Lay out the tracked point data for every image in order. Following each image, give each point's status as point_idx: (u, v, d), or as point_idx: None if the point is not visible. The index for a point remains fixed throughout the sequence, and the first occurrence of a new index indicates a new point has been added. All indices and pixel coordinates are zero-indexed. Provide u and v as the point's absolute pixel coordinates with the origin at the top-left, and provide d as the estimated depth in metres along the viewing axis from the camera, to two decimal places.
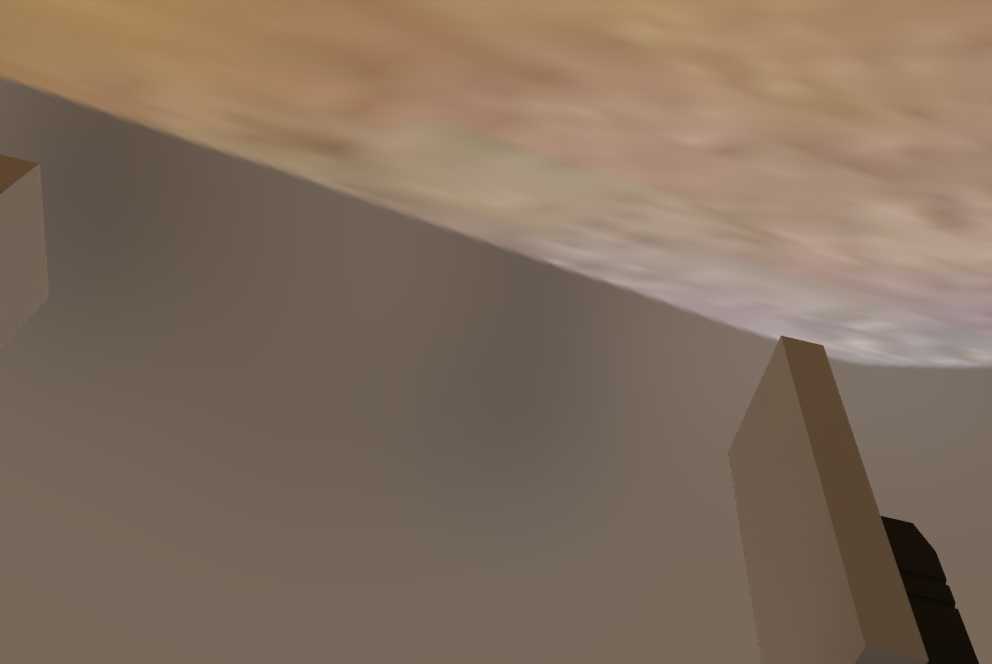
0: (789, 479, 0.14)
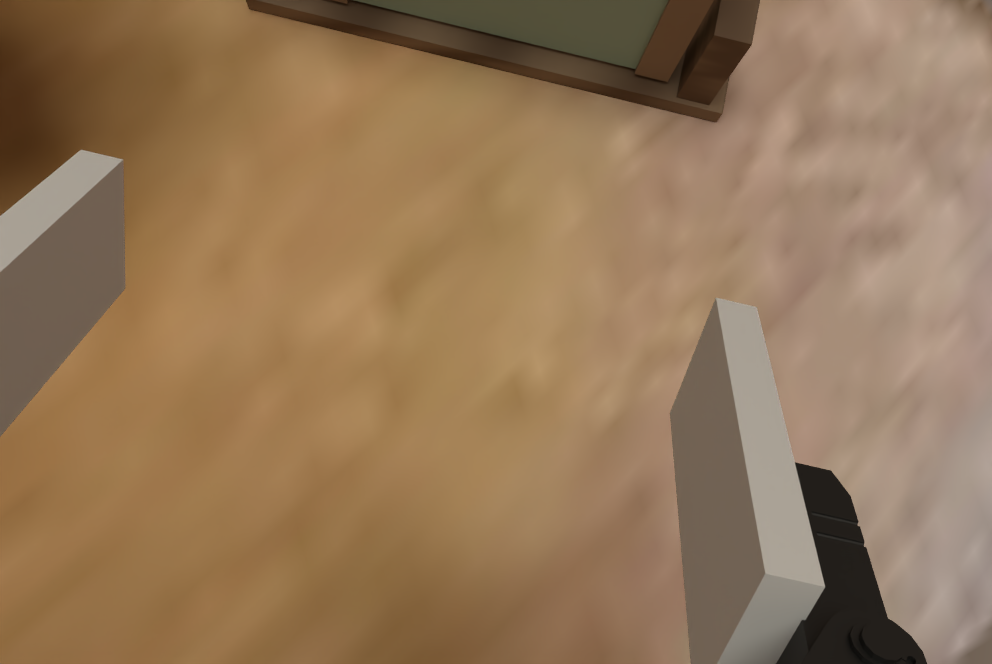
0: (715, 430, 0.15)
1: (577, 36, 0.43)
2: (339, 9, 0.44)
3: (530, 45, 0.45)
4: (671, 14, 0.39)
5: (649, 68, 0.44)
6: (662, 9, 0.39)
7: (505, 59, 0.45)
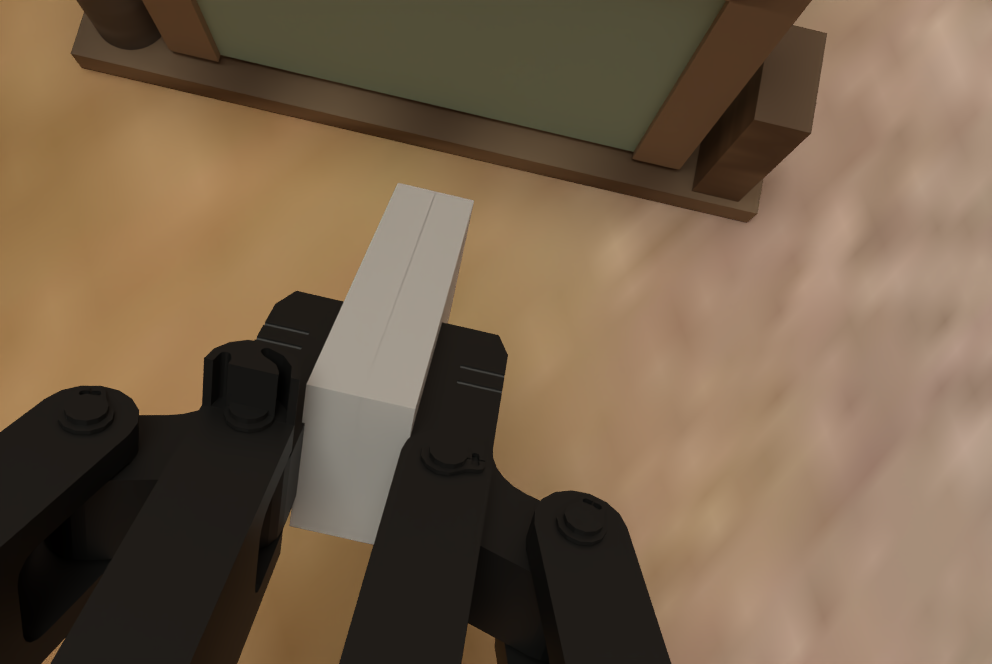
0: None
1: (549, 110, 0.30)
2: (207, 69, 0.31)
3: (483, 118, 0.31)
4: (689, 88, 0.26)
5: (653, 153, 0.31)
6: (675, 79, 0.26)
7: (447, 139, 0.31)
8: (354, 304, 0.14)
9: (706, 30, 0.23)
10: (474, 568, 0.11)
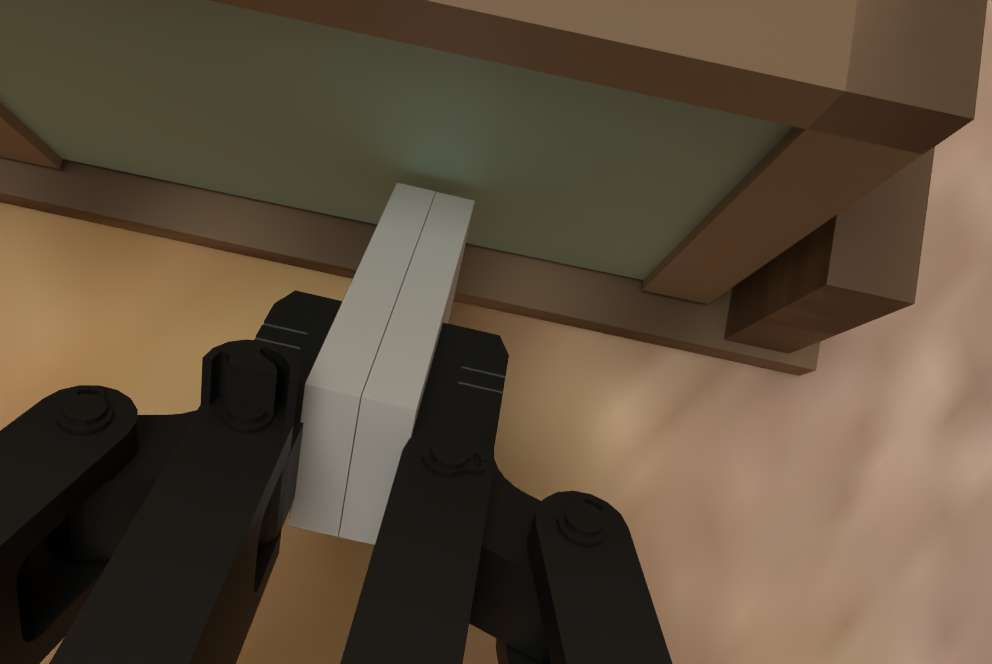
0: None
1: (522, 234, 0.21)
2: (45, 179, 0.22)
3: None
4: (728, 227, 0.17)
5: (671, 287, 0.22)
6: (706, 212, 0.17)
7: None
8: (353, 304, 0.14)
9: (759, 158, 0.14)
10: (475, 568, 0.11)
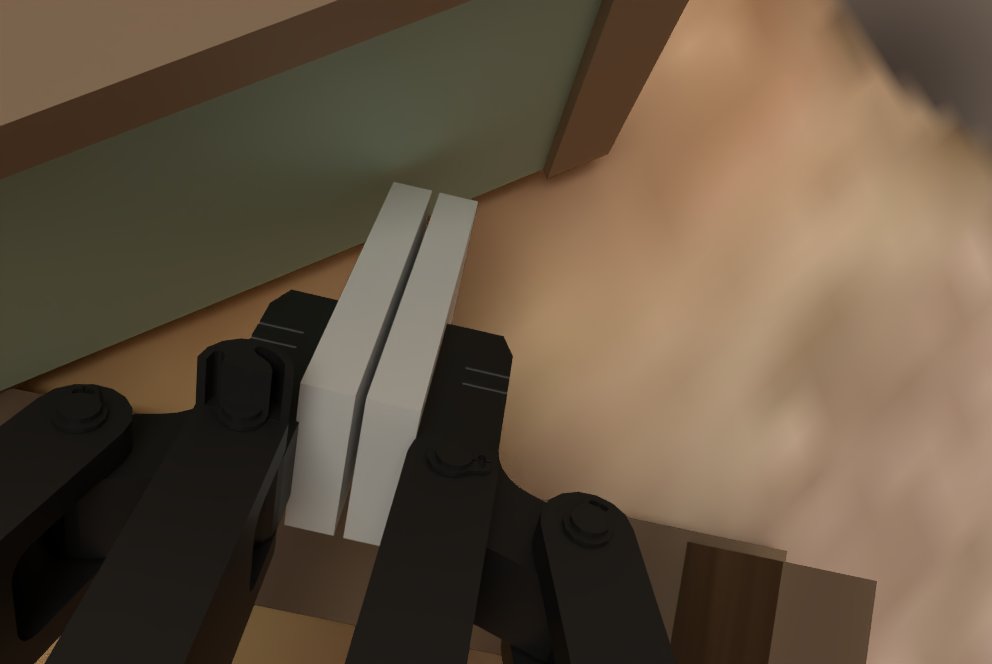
0: None
1: None
2: None
3: (352, 573, 0.21)
4: (601, 71, 0.17)
5: (571, 159, 0.22)
6: (574, 71, 0.17)
7: (296, 611, 0.21)
8: (349, 303, 0.14)
9: None
10: (480, 569, 0.11)
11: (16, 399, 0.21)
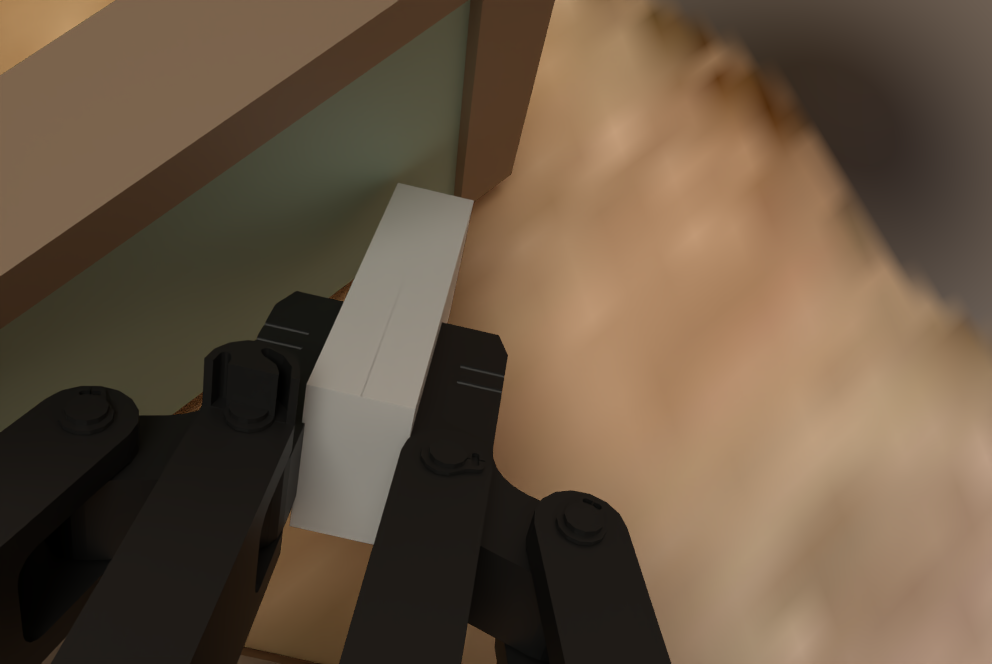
0: None
1: (344, 264, 0.21)
2: None
3: None
4: (483, 108, 0.17)
5: (477, 189, 0.22)
6: (458, 114, 0.17)
7: None
8: (354, 304, 0.14)
9: (465, 41, 0.15)
10: (474, 568, 0.11)
11: None
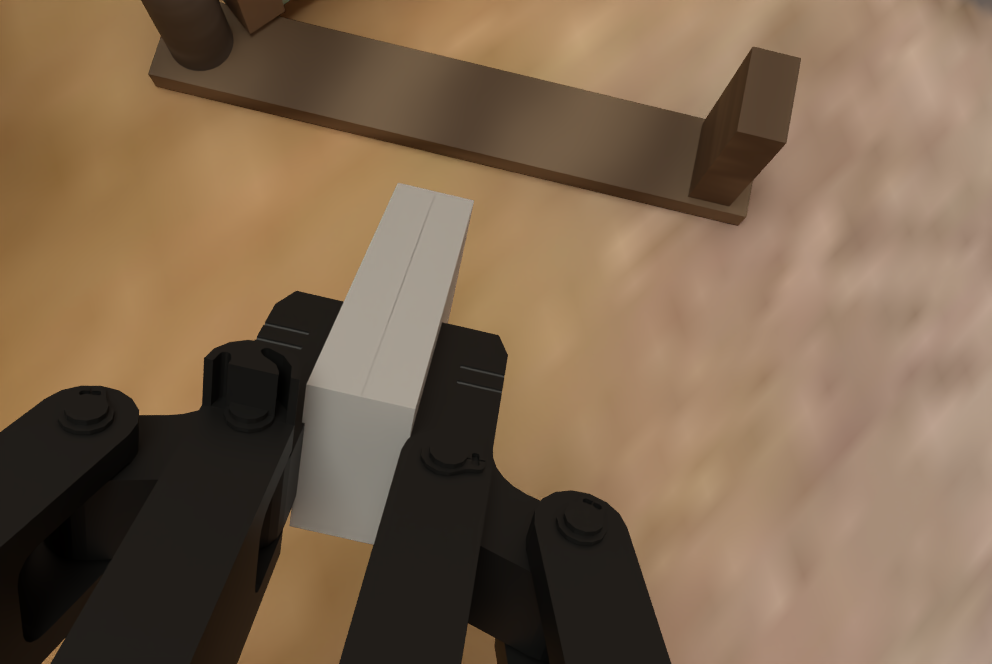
0: None
1: None
2: (265, 88, 0.36)
3: (504, 132, 0.36)
4: None
5: None
6: None
7: (473, 150, 0.36)
8: (354, 304, 0.14)
9: None
10: (474, 568, 0.11)
11: (310, 29, 0.36)
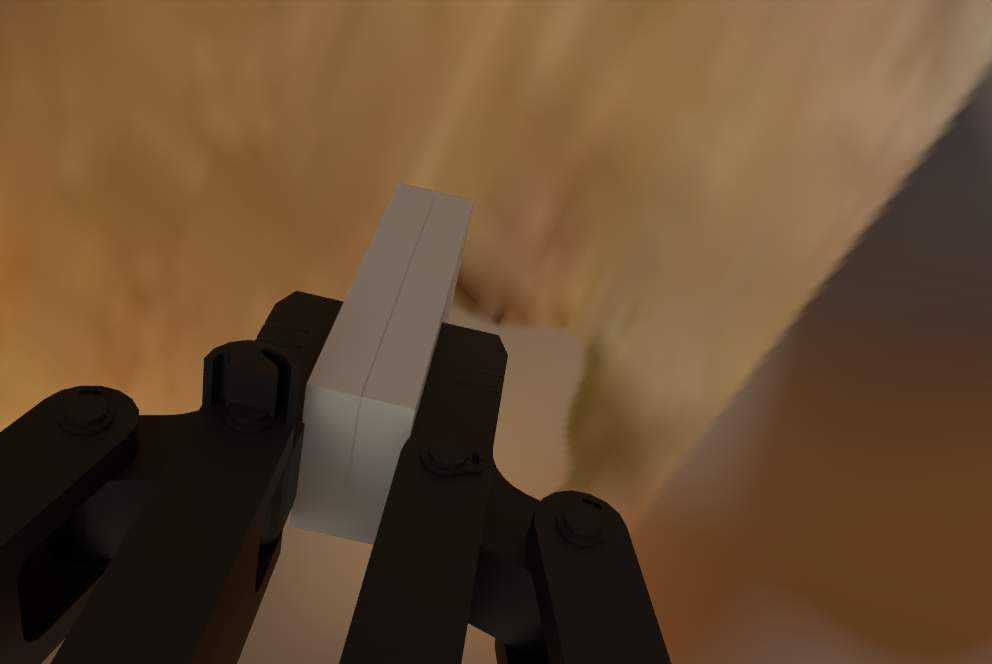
0: None
1: None
2: None
3: None
4: None
5: None
6: None
7: None
8: (354, 304, 0.14)
9: None
10: (474, 568, 0.11)
11: None
